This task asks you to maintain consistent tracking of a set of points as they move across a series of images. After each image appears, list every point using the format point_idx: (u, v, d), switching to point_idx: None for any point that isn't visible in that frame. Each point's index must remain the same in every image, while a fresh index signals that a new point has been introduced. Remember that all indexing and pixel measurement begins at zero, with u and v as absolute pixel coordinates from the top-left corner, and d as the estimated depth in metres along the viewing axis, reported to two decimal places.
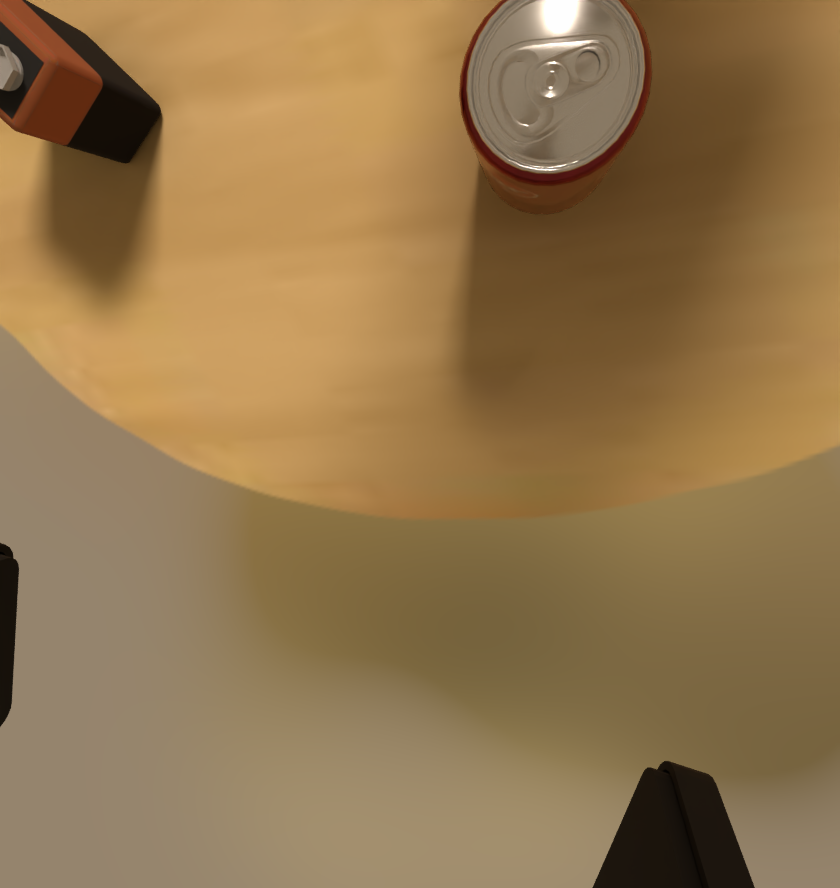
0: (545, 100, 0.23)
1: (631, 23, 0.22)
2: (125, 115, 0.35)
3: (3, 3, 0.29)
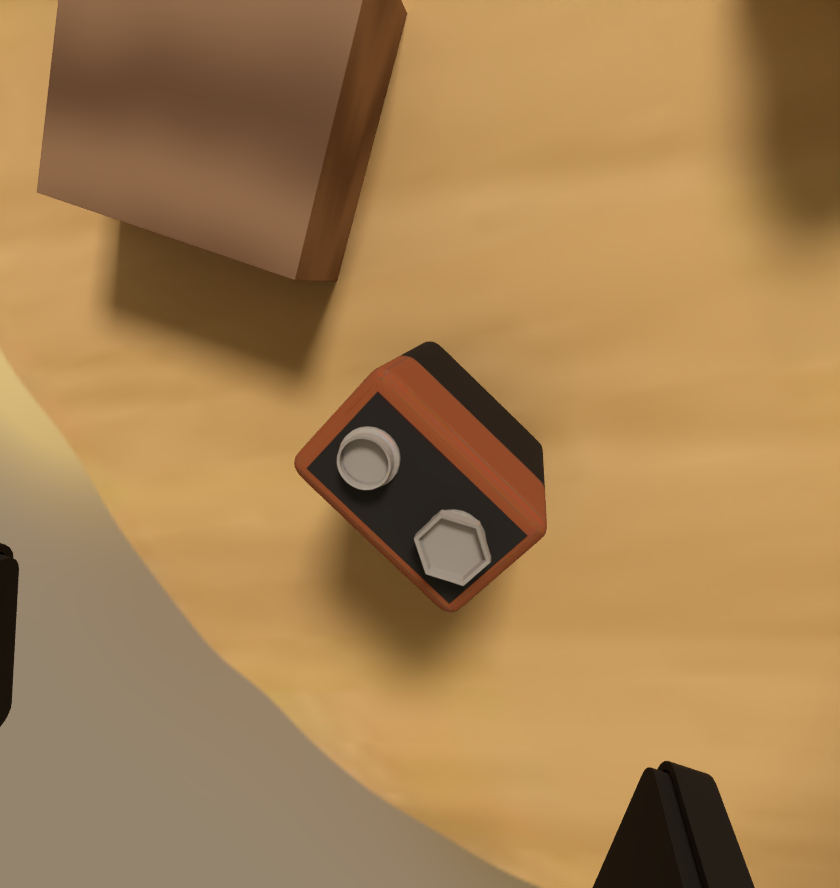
0: None
1: None
2: None
3: (458, 434, 0.17)
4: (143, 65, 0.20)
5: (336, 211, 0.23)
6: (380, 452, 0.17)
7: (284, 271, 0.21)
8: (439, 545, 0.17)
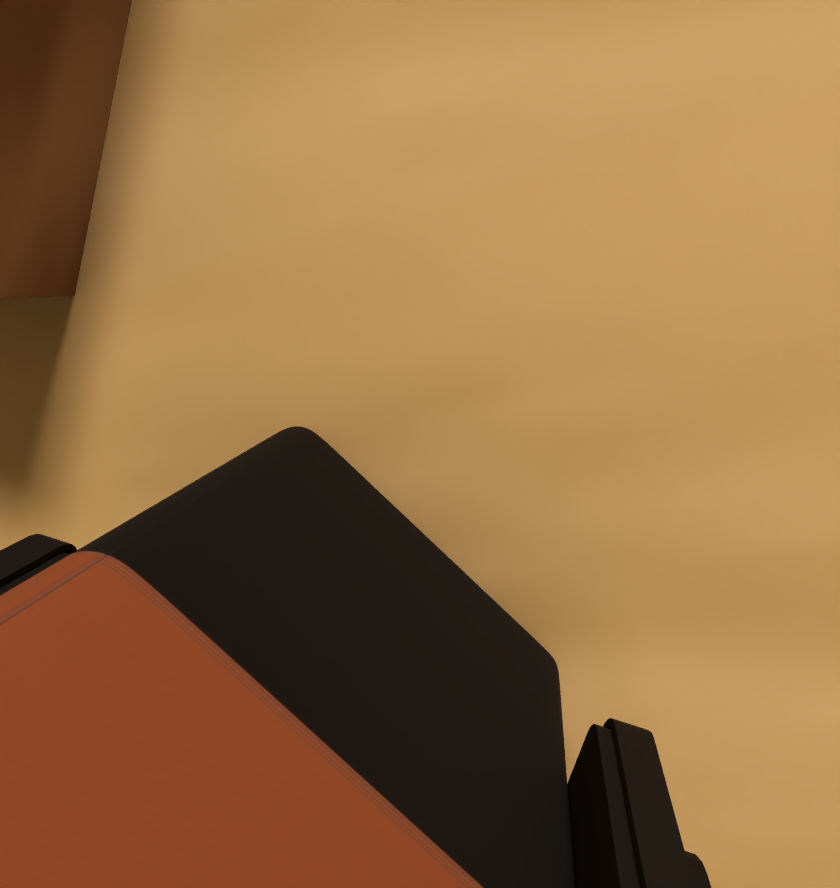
0: None
1: None
2: None
3: None
4: None
5: None
6: None
7: None
8: None
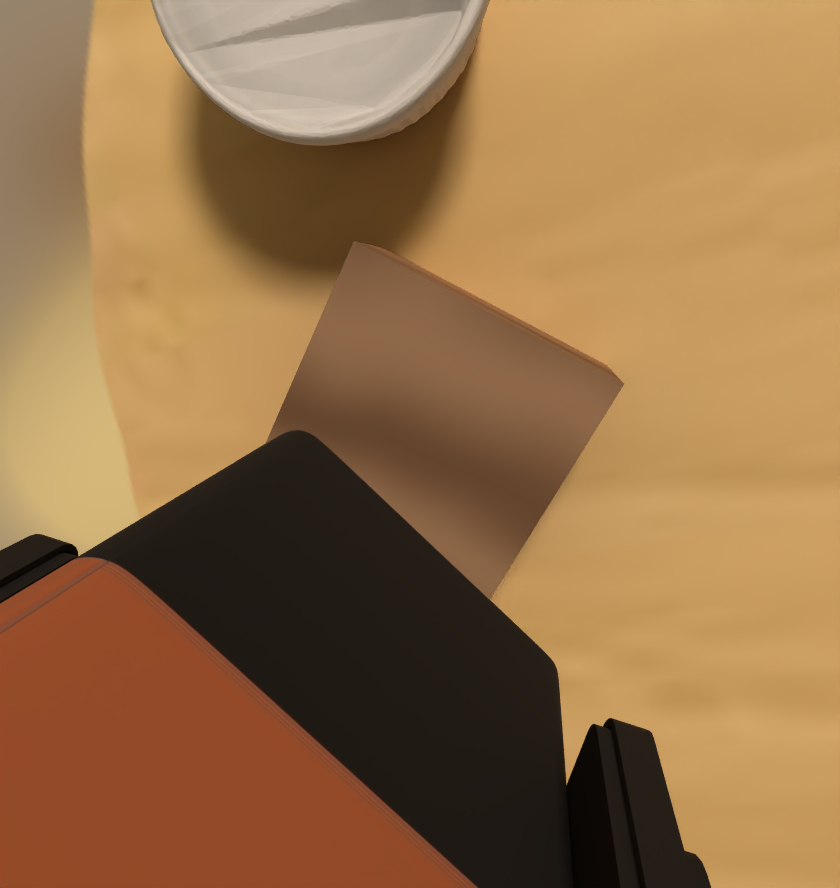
0: None
1: None
2: None
3: None
4: (377, 418, 0.21)
5: None
6: None
7: None
8: None
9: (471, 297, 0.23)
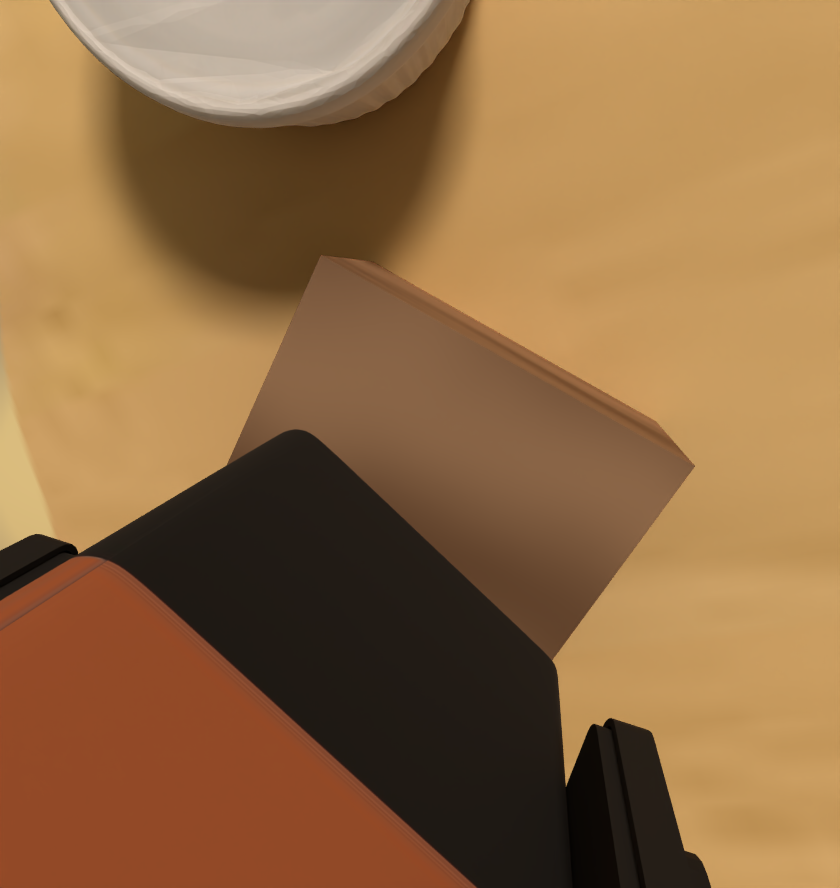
0: None
1: None
2: None
3: None
4: None
5: None
6: None
7: None
8: None
9: (482, 332, 0.17)
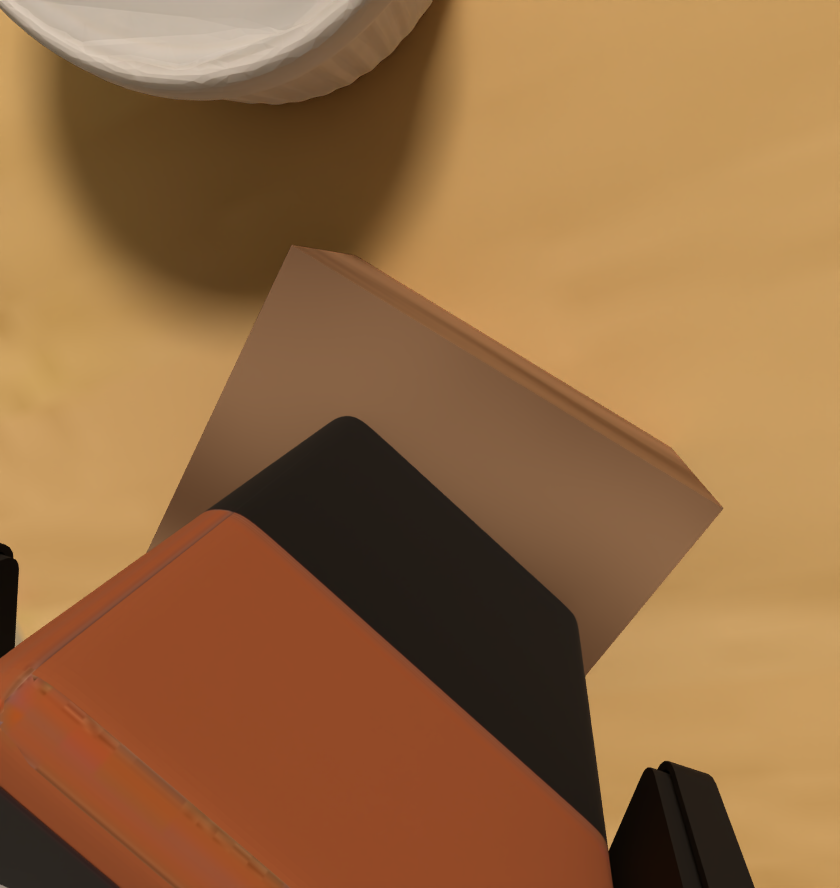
0: None
1: None
2: None
3: None
4: None
5: None
6: None
7: None
8: None
9: (479, 340, 0.15)
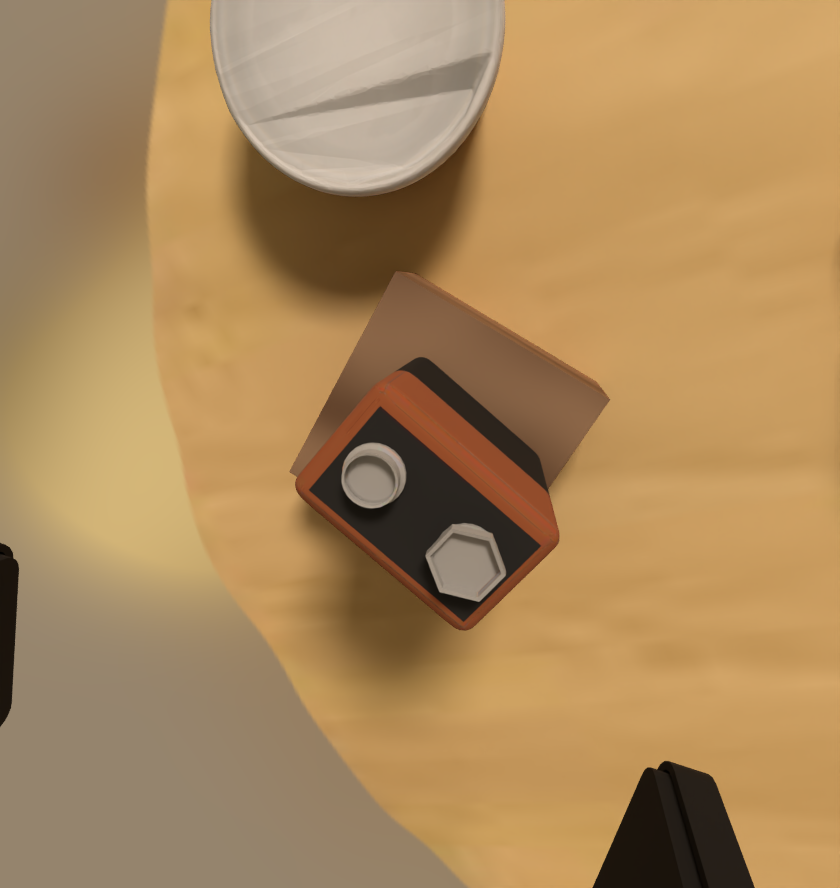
0: None
1: None
2: None
3: (464, 445, 0.17)
4: None
5: None
6: (386, 468, 0.16)
7: None
8: (451, 560, 0.17)
9: (487, 320, 0.27)
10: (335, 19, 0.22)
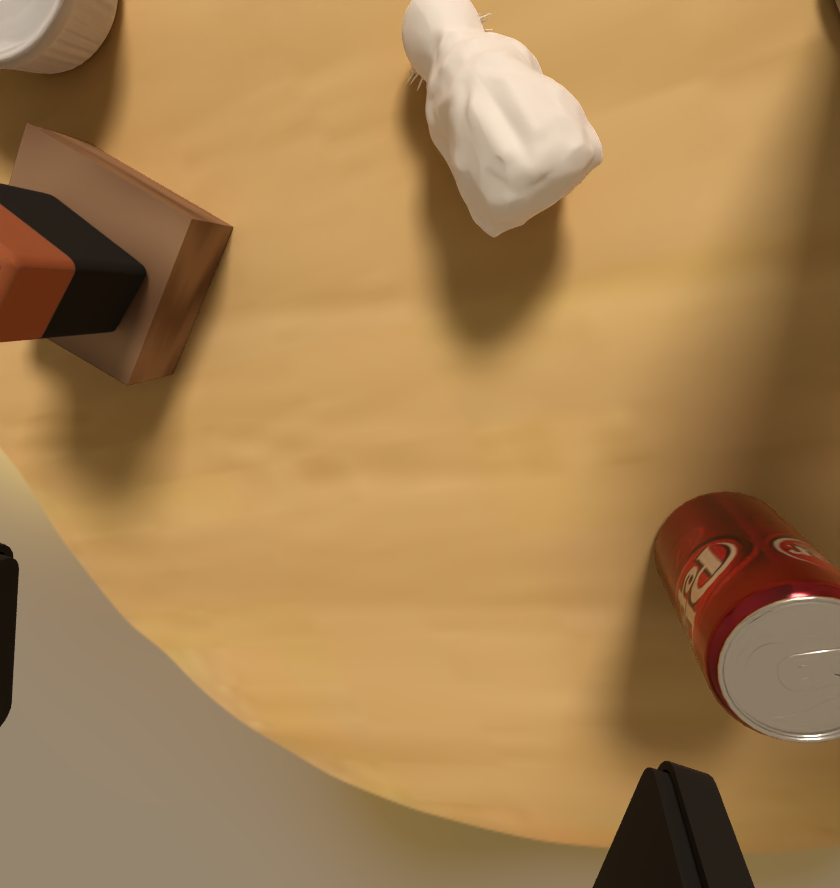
0: (796, 684, 0.24)
1: None
2: (106, 289, 0.30)
3: None
4: None
5: (168, 341, 0.36)
6: None
7: (121, 379, 0.34)
8: None
9: (126, 171, 0.34)
10: None
